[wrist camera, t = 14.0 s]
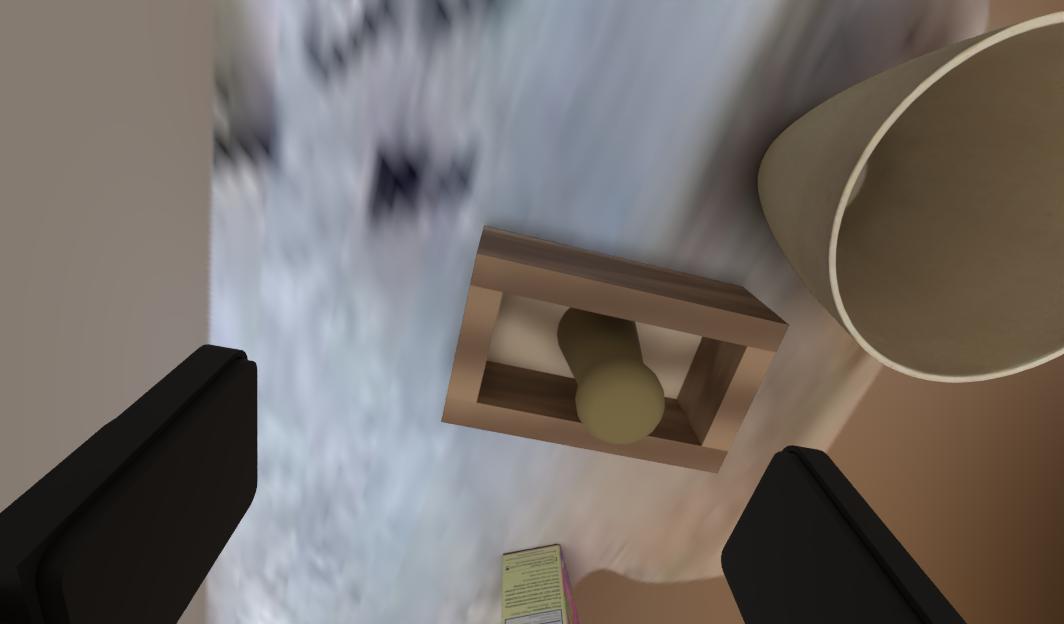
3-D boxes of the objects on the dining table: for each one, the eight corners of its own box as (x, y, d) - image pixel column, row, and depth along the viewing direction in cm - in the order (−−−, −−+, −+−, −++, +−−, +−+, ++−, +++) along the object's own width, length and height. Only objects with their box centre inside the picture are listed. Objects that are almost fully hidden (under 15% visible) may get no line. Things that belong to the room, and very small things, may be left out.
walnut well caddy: (484, 226, 36) (476, 253, 29) (743, 287, 38) (789, 325, 31) (453, 370, 40) (441, 421, 34) (686, 416, 42) (717, 473, 36)
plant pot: (931, 30, 32) (1292, -32, 17) (904, 254, 37) (1155, 353, 23) (695, 74, 32) (845, 52, 18) (704, 288, 38) (822, 406, 23)
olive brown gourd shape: (570, 377, 39) (588, 473, 29) (546, 310, 37) (557, 389, 27) (644, 355, 39) (689, 444, 29) (625, 285, 37) (666, 356, 26)
